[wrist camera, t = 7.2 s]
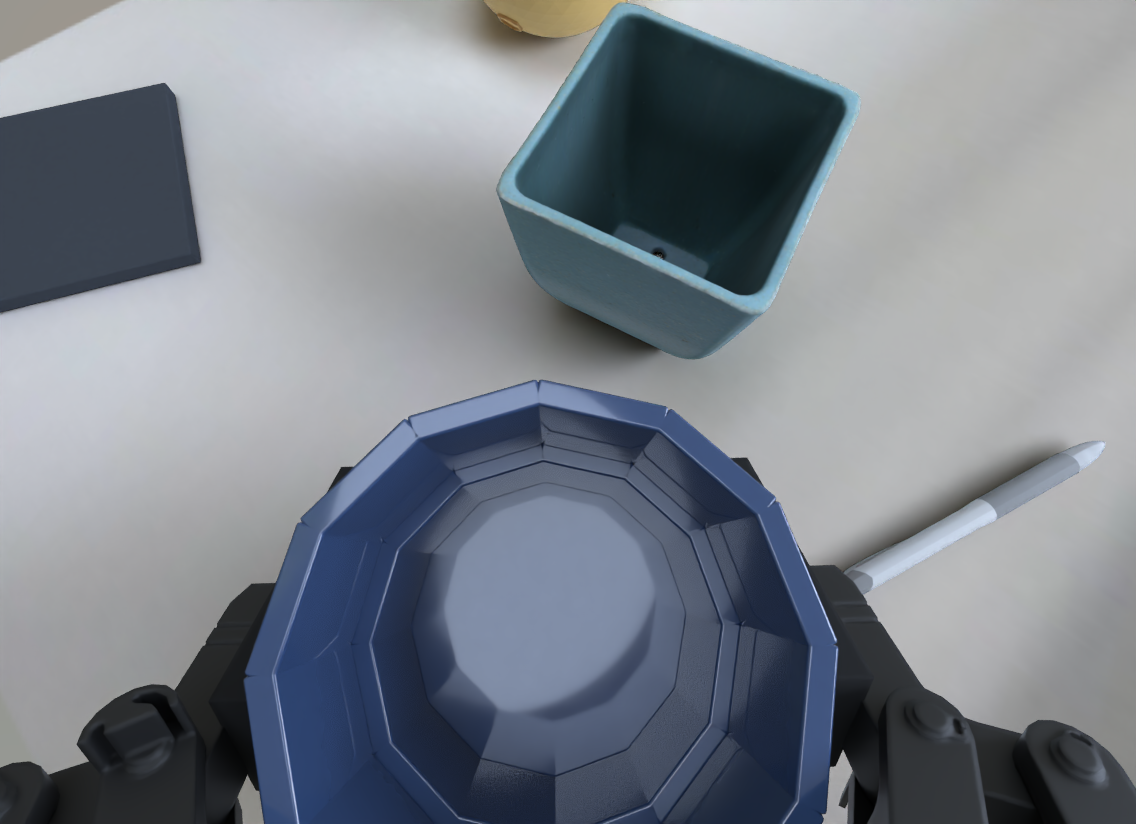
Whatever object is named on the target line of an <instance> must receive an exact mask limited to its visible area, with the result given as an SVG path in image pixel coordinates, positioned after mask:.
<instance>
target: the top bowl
mask: <svg viewBox="0 0 1136 824" xmlns="http://www.w3.org/2000/svg"><path fill="white" fill-rule="evenodd" d="M301 521H302V522H300V523H298V524H297V525H296V528H295V531H294V534H293V536H292V539H291V542H290V545H289V548H288V551H287V553H286V556H285V559H284V562H283V565H282V568H281V570H280V573H279V576H278V579H277V582H276V585H275V588H274V590H273V593H272V596H271V599H270V602H269V605H268V607H267V610H266V613H265V616H264V619H263V622H262V624H261V627H260V630H259V633H258V636H257V639H256V642H255V644H254V647H253V650H252V653H251V656H250V659H249V661H248V664H247V667H246V670H245V674H246V675H247V677H246V678H244V688H245V695H246V702H247V709H248V716H249V723H250V730H251V737H252V744H253V750H254V757H255V764H256V771H257V778H258V785H259V792H260V799H261V806H262V813H263V820H264V824H822V823H823V820H824V818H823V816H822V814H826V811H827V797H828V784H829V771H830V757H831V744H832V731H833V717H834V704H835V690H836V677H837V664H838V647H837V646H836V645H834V644H836V643H837V639H836V636H835V634H834V632H833V629H832V627H831V624H830V622H829V620H828V617H827V615H826V612H825V610H824V608H823V605H822V603H821V600H820V598H819V596H818V593H817V591H816V588H815V586H814V584H813V581H812V579H811V577H810V574H809V572H808V569H807V567H806V565H805V562H804V560H803V557H802V555H801V553H800V550H799V548H798V545H797V543H796V541H795V538H794V536H793V533H792V531H791V529H790V526H789V524H788V521H787V519H786V517H785V514H784V512H783V509H782V507H781V505H780V503H779V502H776V497H775V496H774V495H773V494H772V493H770V492H769V491H768V490H767V489H766V488H764V487H763V486H762V485H761V484H760V483H759V482H757V481H756V480H755V479H754V478H753V477H751V476H750V475H749V474H748V473H747V472H746V471H744V470H743V469H742V468H741V467H740V466H739V465H737V464H736V463H735V462H734V461H733V460H731V459H730V458H729V457H728V456H727V455H726V454H724V453H723V452H722V451H721V450H720V449H718V448H717V447H716V446H715V445H714V444H713V443H711V442H710V441H709V440H708V439H707V438H706V437H704V436H703V435H702V434H701V433H700V432H698V431H697V430H696V429H695V428H694V427H693V426H691V425H690V424H689V423H688V422H687V421H685V420H684V419H683V418H682V417H681V416H680V415H678V414H677V413H676V412H675V411H674V410H672V409H670V410H668V408H667V407H666V406H662V405H657V404H652V403H648V402H643V401H639V400H634V399H629V398H625V397H620V396H616V395H611V394H606V393H602V392H597V391H592V390H588V389H583V388H579V387H574V386H569V385H565V384H560V383H556V382H551V381H546V380H539V382H537V380H532V381H528V382H525V383H521V384H518V385H515V386H511V387H508V388H504V389H501V390H497V391H494V392H490V393H487V394H484V395H480V396H477V397H473V398H470V399H466V400H463V401H459V402H456V403H453V404H449V405H446V406H442V407H439V408H435V409H432V410H428V411H425V412H422V413H418V414H415V415H411V416H409V417H408V420H406V419H404V420H402V421H401V422H400V423H399V424H398V425H397V426H396V427H395V428H394V429H393V430H392V431H391V432H390V433H389V434H388V435H387V436H386V437H385V438H384V439H383V440H382V441H380V442H379V443H378V444H377V445H376V446H375V447H374V448H373V449H372V450H371V451H370V452H369V453H368V454H367V455H366V456H365V457H364V458H363V459H362V460H361V461H360V462H359V463H358V464H356V465H355V466H354V467H353V468H352V469H351V470H350V471H349V472H348V473H347V474H346V475H345V476H344V477H343V478H342V479H341V480H340V481H339V482H338V483H337V484H336V485H335V486H334V487H332V488H331V489H330V490H329V491H328V492H327V493H326V494H325V495H324V496H323V497H322V498H321V499H320V500H319V501H318V502H317V503H316V504H315V505H314V506H313V507H312V508H311V509H310V510H308V511H307V512H306V513H305V514H304V515H303V516H302V517H301Z"/></svg>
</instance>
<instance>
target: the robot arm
mask: <svg viewBox="0 0 1136 824" xmlns="http://www.w3.org/2000/svg"><path fill="white" fill-rule="evenodd" d="M730 459H731V460H733V461H734V462H735V463H736V464H737V465H739V466H740V467H741V468H742V469H743V470H744V471H746V472H747V473H748V474H749V475H750V476H751V477H753V478H754V479H755V480H756V481H757V482H759V483H760V484H761V485H762V486H763V484H762V483H761V481H760V479H759V477H758V476H757V474H756V472H755V471H754V469H753V467H752V465H751V464H750V462H749V460H748V459H747V458H730ZM352 468H353V467H341V469H340V470H339V472H338V474H337V476H336V477H335V479H334V481H333V483H332V484H331V486H330V488H329V490H330V489H331V488H332V487H334V486H335V485H336V484H337V483H338V482H339V481H340V480H341V479H342V478H343V477H344V476H345V475H346V474H347V473H348V472H349V471H350V470H351V469H352ZM763 487H764V486H763ZM329 490H328V491H329ZM798 548H799V546H798ZM799 550H800V548H799ZM800 553H801V555H802V557H803V560H804V562H805V565H806V567H807V569H808V572H809V574H810V577H811V579H812V581H813V584H814V586H815V588H816V591H817V593H818V596H819V598H820V600H821V603H822V605H823V608H824V610H825V612H826V615H827V617H828V620H829V622H830V624H831V627H832V629H833V632H834V634H835V636H836V639H837V643H836V644H834V645H836V646H837V647H838V664H837V677H836V690H835V704H834V717H833V731H832V744H831V757H830V767H834V766H836V764H837V762H838V759H839V757H840V755H841V753H842V750H844V752H845V754H846V757H847V759H848V761H849V763H850V765H851V767H852V770H853V772H852V774H851V776H850V778H849V780H848V782H847V784H846V787H845V789H844V791H843V793H842V796H841V799H840V802H839V806H841V807H843V808H845V807H846V805H847V803H848V821H847V824H1136V788H1135V787H1134V785H1133V783H1132V782H1131V780H1130V779H1129V777H1128V776H1127V774H1126V772H1125V771H1124V769H1123V768H1122V767H1121V766H1120V764H1119V763H1118V762H1117V761H1116V760H1115V758H1114V757H1113V756H1112V755H1111V753H1110V752H1109V751H1107V750H1106V749H1105V748H1104V747H1103V746H1101V745H1100V744H1099V743H1098V742H1096V741H1095V740H1094V739H1093V738H1092V737H1090V736H1088V735H1086V734H1084V733H1083V732H1081V731H1079V730H1077V729H1076V728H1074V727H1072V726H1069V725H1066V724H1063V723H1060V722H1057V721H1053V720H1038V721H1036V722H1034V723H1032V724H1030V725H1029V726H1028V727H1027V728H1026V730H1025V731H1024V732H1023V734H1020V733H1016V732H1013V731H1009V730H1005V729H1001V728H997V727H994V726H990V725H986V724H982V723H978V722H975V721H973V720H970V719H967V718H964V717H963V716H962V714H961V713H960V712H959V711H958V709H957V708H955V707H954V706H953V705H952V704H950V703H949V702H948V701H947V700H945V699H944V698H943V697H941V696H939V695H937V694H935V693H933V692H931V691H929V690H927V689H925V688H924V687H923V686H922V684H921V683H920V682H919V680H918V679H917V677H916V676H915V674H914V673H913V671H912V670H911V668H910V667H909V665H908V664H907V662H906V660H905V659H904V657H903V656H902V654H901V653H900V651H899V650H898V648H897V647H896V645H895V644H894V642H893V641H892V639H891V638H890V636H889V635H888V633H887V631H886V630H885V628H884V627H883V625H882V624H881V622H878V620H877V616H876V615H875V613H874V612H873V610H872V609H871V607H870V606H868V605H867V601H866V599H865V598H864V596H863V595H862V593H861V592H860V590H859V589H858V587H857V586H856V584H855V583H854V581H852V580H851V579H850V578H849V577H848V576H846V575H845V574H844V573H843V572H842V571H840V570H839V569H838V568H837V567H836V566H835V565H823V566H810V565H809V564H808V562H807V560H806V558H805V557H804V555H803V553H802V552H801V550H800ZM276 582H277V581H276ZM275 585H276V583H261V584H251V585H250V586H249V587H248V588H246V589H245V590H244V591H243V592H242V593H241V594H240V595H238V596H237V597H236V598H235V599H234V600H233V601H232V602H231V603H230V604H229V606H228V607H227V609H226V610H225V612H224V614H223V615H222V617H221V618H220V620H219V621H218V623H217V628H214V629H213V631H212V632H211V634H210V636H209V637H208V639H207V640H206V645H205V646H203V647H202V648H201V650H200V651H199V653H198V654H197V656H196V658H195V659H194V661H193V662H192V664H191V665H190V667H189V669H188V670H187V672H186V673H185V675H184V676H183V678H182V680H181V681H180V683H179V684H178V686H177V687H176V689H175V691H174V690H173V689H171V688H170V687H168V686H167V685H154V684H151V685H147V686H143V687H139V688H136V689H133V690H131V691H129V692H127V693H125V694H123V695H121V696H119V697H117V698H115V699H114V700H112V701H111V702H110V703H109V704H107V705H106V706H105V707H103V708H102V709H101V710H100V711H98V712H97V713H96V714H95V715H94V717H93V718H92V719H91V720H90V721H89V723H88V724H87V725H86V726H85V727H84V729H83V731H82V733H81V735H80V738H79V740H78V742H77V746H78V747H79V748H80V750H81V751H82V752H83V754H84V755H85V756H86V757H87V759H88V760H89V762H86V763H83V764H80V765H76V766H73V767H70V768H67V769H64V770H61V771H58V772H55V773H52V774H49V775H48V774H47V773H46V772H45V771H44V770H43V769H42V767H41V766H39V765H36V764H34V763H32V762H20V763H12V764H9V765H6V766H4V767H1V768H0V824H243V822H242V809H241V806H240V803H239V800H238V798H237V797H238V795H239V792H240V790H241V788H242V786H243V783H244V781H245V779H246V777H247V775H248V777H249V778H250V780H251V782H252V784H253V786H254V788H255V789H256V791H259V785H258V778H257V771H256V764H255V757H254V750H253V744H252V737H251V730H250V723H249V716H248V709H247V702H246V695H245V688H244V678H246V677H247V675H246V674H245V670H246V667H247V664H248V661H249V659H250V656H251V653H252V650H253V647H254V644H255V642H256V639H257V636H258V633H259V630H260V627H261V624H262V622H263V619H264V616H265V613H266V610H267V607H268V605H269V602H270V599H271V596H272V593H273V590H274V588H275Z"/></svg>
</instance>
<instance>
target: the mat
mask: <svg viewBox="0 0 1136 824" xmlns="http://www.w3.org/2000/svg"><path fill="white" fill-rule="evenodd" d="M200 261H201V260H200V253H199V247H198V240H197V234H196V227H195V221H194V215H193V208H192V202H191V195H190V189H189V182H188V176H187V169H186V163H185V156H184V150H183V143H182V137H181V130H180V124H179V117H178V111H177V104H176V98H175V95H174V93H173V92H172V91H171V90H170V88H169V87H168V86H167V85H166V84H165V83H161V84H157V85H152V86H147V87H143V88H138V89H133V90H129V91H124V92H119V93H115V94H110V95H105V96H101V97H96V98H91V99H87V100H82V101H77V102H73V103H68V104H63V105H59V106H54V107H49V108H45V109H40V110H35V111H31V112H26V113H21V114H17V115H12V116H7V117H3V118H0V312H3V311H7V310H11V309H15V308H19V307H23V306H27V305H31V304H35V303H39V302H43V301H47V300H51V299H55V298H59V297H63V296H67V295H71V294H76V293H80V292H84V291H88V290H92V289H96V288H100V287H104V286H108V285H112V284H116V283H120V282H124V281H128V280H132V279H136V278H140V277H144V276H148V275H152V274H156V273H160V272H164V271H168V270H172V269H176V268H180V267H184V266H188V265H192V264H196V263H199V262H200Z"/></svg>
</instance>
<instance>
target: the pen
mask: <svg viewBox="0 0 1136 824" xmlns="http://www.w3.org/2000/svg"><path fill="white" fill-rule="evenodd" d="M1104 447H1105V442H1104V441H1091V442H1085V443H1082V444H1079V445H1077V446H1074V447H1072V448H1069V449H1067V450H1065V451H1063V452H1061V453H1057V454H1056V455H1054V456H1052V457H1050V458H1048V459H1047V460H1045V461H1043V462H1041V463H1040V464H1038V465H1036V466H1034V467H1032V468H1031V469H1029V470H1027V471H1025V472H1024V473H1022V474H1020V475H1018V476H1016V477H1015V478H1013V479H1011V480H1009V481H1008V482H1006V483H1004V484H1002V485H1000V486H999V487H997V488H995V489H993V490H992V491H990V492H988V493H986V494H984V495H983V496H981V497H979V498H977V499H976V500H974V501H972V502H971V503H969V504H968V505H966V506H965V507H963V508H962V509H960V510H958V511H957V512H955V513H953V514H951V515H949V516H948V517H946V518H944V519H942V520H941V521H939V522H937V523H935V524H933V525H932V526H930V527H928V528H926V529H925V530H923V531H921V532H919V533H917V534H916V535H914V536H912V537H910V538H909V539H907V540H904V541H902V542H899V543H897V544H895V545H892V546H890V547H888V548H886V549H883V550H881V551H879V552H877V553H875V554H874V555H872V556H870V557H868V558H866V559H864V560H862V561H860V562H858V563H857V564H855V565H853V566H851V567H850V568H848V569H847V570H846V571H844V572H843V573H844V574H845V575H846V576H848V577H849V578H850V579H851V580H852V581H854V583H855V584H856V586H857V587H858V589H859V590H860V592H861V593H862V595H863V594H865V593H867V592H868V591H870V590H872V589H874V588H875V587H877V586H879V585H881V584H882V583H884V582H886V581H888V580H889V579H891V578H893V577H895V576H896V575H898V574H900V573H902V572H903V571H905V570H907V569H909V568H910V567H912V566H914V565H916V564H917V563H919V562H921V561H923V560H924V559H926V558H928V557H930V556H931V555H933V554H935V553H937V552H938V551H940V550H942V549H944V548H945V547H947V546H949V545H951V544H952V543H954V542H956V541H958V540H959V539H961V538H963V537H965V536H966V535H968V534H970V533H972V532H973V531H975V530H977V529H979V528H980V527H982V526H985V525H987V524H989V523H991V522H993V521H995V520H997V519H998V518H1000V517H1002V516H1004V515H1005V514H1007V513H1009V512H1011V511H1012V510H1014V509H1016V508H1018V507H1019V506H1021V505H1023V504H1025V503H1026V502H1028V501H1030V500H1031V499H1033V498H1035V497H1037V496H1038V495H1040V494H1042V493H1044V492H1045V491H1047V490H1049V489H1051V488H1052V487H1054V486H1056V485H1058V484H1059V483H1061V482H1063V481H1065V480H1066V479H1068V478H1070V477H1072V476H1073V475H1075V474H1077V473H1079V471H1080V470H1082V469H1083V468H1085V467H1087V466H1088V465H1089V464H1090V463H1092V462H1093V461H1094V460H1095V459H1096V458H1098V457H1099V456H1100V454H1101V453H1102V452H1103V450H1104Z"/></svg>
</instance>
